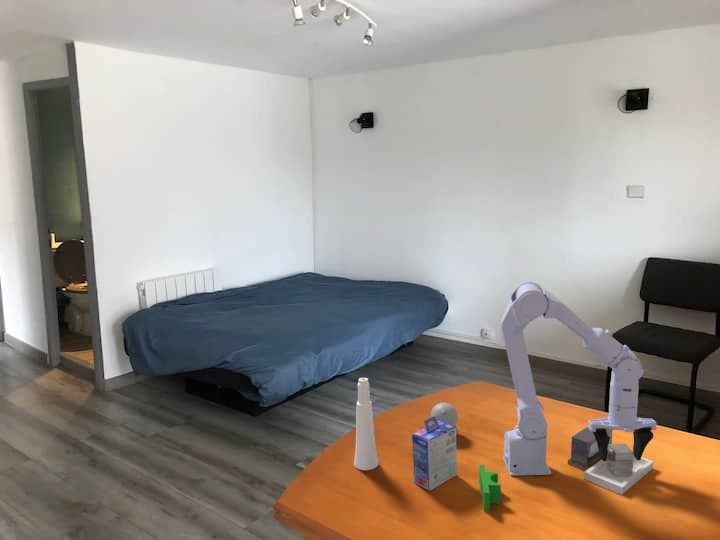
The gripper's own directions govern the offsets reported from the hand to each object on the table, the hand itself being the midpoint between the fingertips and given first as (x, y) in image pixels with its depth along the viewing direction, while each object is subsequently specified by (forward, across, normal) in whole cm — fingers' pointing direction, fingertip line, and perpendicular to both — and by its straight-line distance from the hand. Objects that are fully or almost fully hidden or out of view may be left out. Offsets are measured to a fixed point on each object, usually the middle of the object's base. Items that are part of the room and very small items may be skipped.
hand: (619, 458), depth 129 cm
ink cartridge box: (+4, -42, 0) cm, 43 cm away
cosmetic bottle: (+4, -58, +7) cm, 59 cm away
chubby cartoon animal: (+4, -38, +23) cm, 44 cm away
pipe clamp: (+4, -31, -8) cm, 33 cm away
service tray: (+4, 0, 0) cm, 4 cm away
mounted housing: (+4, -4, +7) cm, 9 cm away
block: (+3, 0, 0) cm, 3 cm away
